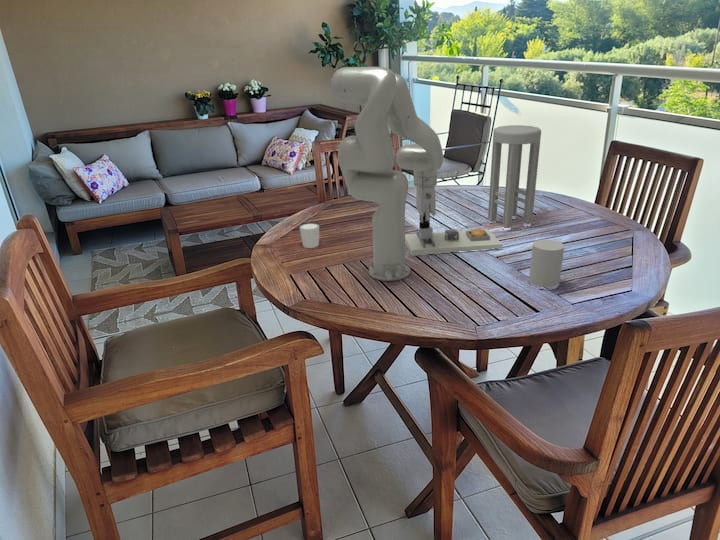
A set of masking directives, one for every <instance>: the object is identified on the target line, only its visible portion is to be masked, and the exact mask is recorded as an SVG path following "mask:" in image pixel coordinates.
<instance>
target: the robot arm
mask: <svg viewBox="0 0 720 540" xmlns="http://www.w3.org/2000/svg"><path fill="white" fill-rule="evenodd" d="M330 85H331V91H332V93H333V96H334V97H335V99H337V100H338V101H340V102H341V103H346V104H350V105H354V106H355V105H356V106H363V107H362V109H361V111H360V113H359V114H358V116H357V117H356V120H355V123H354V133H355V135H349V136H345V138H343V139H342V140H341V142H340V143H339V145H338V149H337V160H338V165H339V168H340V171H341V173H342V176H343V180H344V181H345V185H346V188H347V189H348V193H349V194H350V195H351V197H353V198H354V199H356V200H360V201H366V202H373V203H378V208H377V209H375V211H374V213H373V215H372V218H371V219H372V220H371V223H372V225H371V226H372V249H373V250H372V254H373V257H372V258H373V264H372V265H371V266H369V268H368V274H369V276H370V277H371V278H373V279H375V280H378V281H383V282H395V281H400V280H403V279H405V278H407V277H409V275H410V274H411V268H410V266H408V265H407V264H406V242H405V235H406V205H407V204H406V203H407V202H406V201H407V197H408V192H409V180H408V177H407V175H406V174H404V173H403V172H402V171H399V170H396V169H394V168H395V164H397V166H398V167H399V168H400V169H403V170H408V171H413V186H414V187H416V189H415V190H416V191H415V193H416V194H415V195H416V196H415V199H416V200H415V202H416V203H415V205H416V206H415V207H416V210H417V212H418V214H419V231H418V232H419V233H420V228H425V227H431V225H430V224H431V223H430V222H431V215H432V216H433V217H435V216H436V214H437V213H436V211H437V210H436V207H437V206H436V189H435V187H436V186H437V184H438V171H439V170H440V169H441V168H442V165H443V162H444V153H443V147H442V145H441V144H442V143H441V141H440V138H439V136H438V134H437V132H436V131H435V130H434V129H433V128H432V127H430V125H428V123H426V121H424V120H423V119H421V118H420V117H419V116H418V115H417V111H416V109H415V105H414V103H413V98H412V96H411V92H410V89H409V85H408V83H407V82H406V79H405V78H404V77H403V76H402V75H400V74H398V73H394V71H393V70H392V69H390V68H387V67H382V66H343V67H340V68H338V69H337V70H336V71H334V73H333V75H332V77H331V82H330ZM390 131H391V132H392V133H393V134H395V135H397V136H399V137H401V138H402V139H405V140H407V141H410V142H412V144H405V145H403V146H401V147H399V149H398V150H397V152H396V153H395V149H394V145H393V140H392V137H391V132H390Z"/></svg>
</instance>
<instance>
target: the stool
mask: <svg viewBox="0 0 720 540" xmlns="http://www.w3.org/2000/svg"><path fill="white" fill-rule="evenodd" d="M492 132H493V135H492V149H491V151H492V152H491V167H490V178H489V180H490V182H489V198H488V214H487V221H488V220H489V221H496V222H497V219H498V217H497V216H498V215H497V214H498V206H500V207H503V216H502V217H503V218H502V227H504V228H510V227H513V226H512V224H513V220H512V216H516V217H517V213H518V202H520V203H522V204H524V208H523V218H522V219H523V220H522V224H523V223H526V224H530V223H532V224H533V216H534V206H535V198H536V187H537V178H538V177H537V176H538V167H539V158H540V146H541V137H542V129H541V128H540V127H538V126H532V125H524V124H523V125H515V124H514V125H503V126H502V125H501V126H497V127H495V128H493V131H492ZM502 144H505V145H508V152H507V164H506V178H505V190H504V193H502V192H500V191H499V187H500V174H501V173H500V172H501V163H502V162H501V160H502V148H503V147H502V146H503V145H502ZM523 145H530V146H529V155H528V163H527V164H528V167H527V177H526V184H525V185H526V188H525V190H523V189H520V188H519V187H520V178H521V169H522V168H521V166H522V157H523V156H522V154H523ZM519 194H521V195H523V196H525V198H522V197H520V196H519ZM499 198H500V199H501V198H502V199H504V202H503V201H501V200H499Z"/></svg>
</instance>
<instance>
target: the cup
mask: <svg viewBox="0 0 720 540" xmlns="http://www.w3.org/2000/svg"><path fill="white" fill-rule="evenodd" d="M564 252H565V244H564V243H563V242H560V241H558V240H555V239H554V240H553V239H538V240H535V241H533V242H532V248H531V258H530V267H529V278H528V282H529V281H530V282H531V283H532V284H534V285H537V286H543V287H551V286H555V285H557V284H559V285H560V283H561V273H562V266H563V260H564ZM559 282H560V283H559Z"/></svg>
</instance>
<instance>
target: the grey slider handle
mask: <svg viewBox="0 0 720 540" xmlns="http://www.w3.org/2000/svg"><path fill="white" fill-rule="evenodd" d="M433 230H434V229H433V227H432V226H430V227H425V228H420V232H419V234H420V239H423V241H424V243H425V244H429V243H430V240H429V239H433V233H434V231H433Z"/></svg>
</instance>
